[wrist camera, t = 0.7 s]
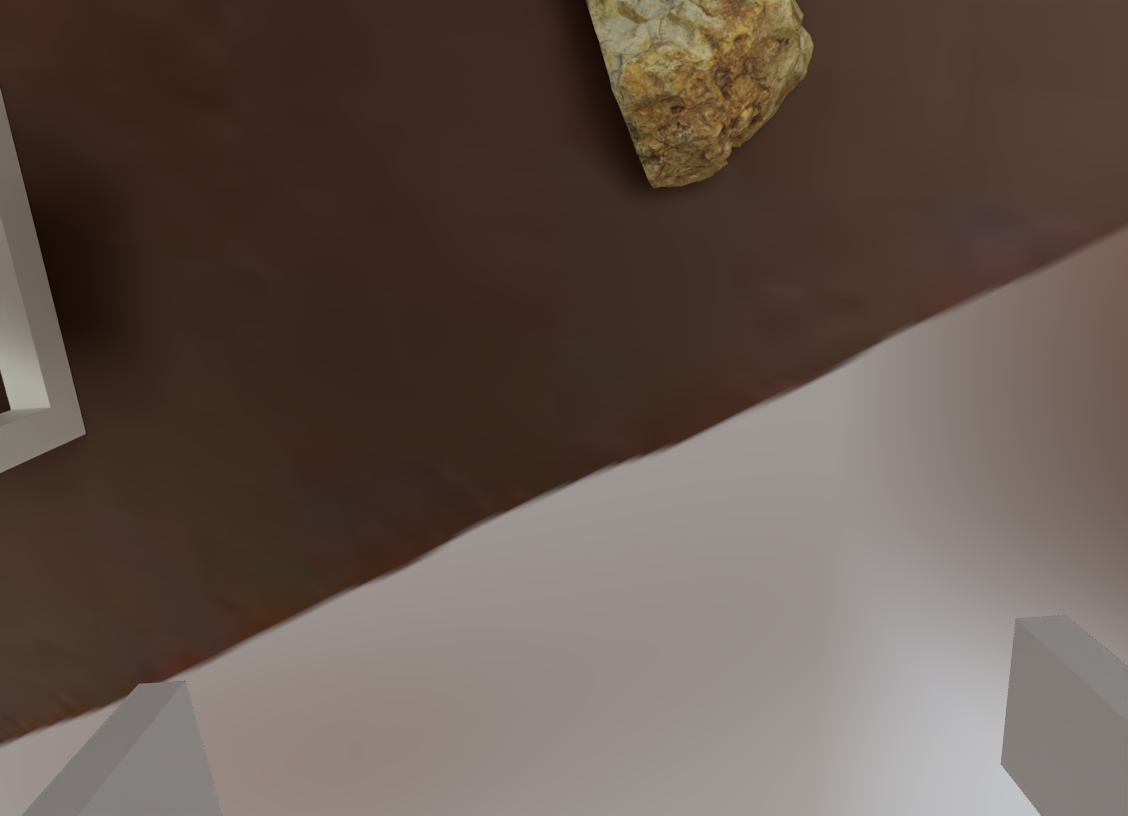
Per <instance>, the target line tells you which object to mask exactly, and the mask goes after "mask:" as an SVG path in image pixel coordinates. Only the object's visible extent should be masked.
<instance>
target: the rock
mask: <svg viewBox="0 0 1128 816" xmlns="http://www.w3.org/2000/svg"><path fill="white" fill-rule="evenodd" d="M586 3H587V5H588V9H589V12H590V15H591V19H592V22H593V25H594V28H595V31H596V34H597V37H598V40H599V43H600V47H601V51H602V54H603V57H604V61H605V64H606V68H607V71H608V75H609V78H610V83H611V87H612V91H613V93H614V96H615V98H616V100H617V102H618V104H619V107H620V110H621V112H622V115H623V117H624V120H625V123H626V125H627V127H628V129H629V132H630V135H631V138H632V141H633V143H634V146H635V149H636V152H637V155H638V156H639V159H640V162H641V163H642V165H643V168H644V171H645V173H646V176H647V178H648V181H649V182H650V185H651V186H652V187H653V188H658V187H675V186H683V185H686V184H689V183H691V182H698V181H701V180H703V179H706V178H708V177H711V176H713V175H714V173H715V172H716V171H718V170H720V169H721V168H722V167H723V166H725V165H726V164H728V163H727V159H726V158H727V157H728V156H729V155H730V153H731V152H732V148H731V147H732V146H734V147H740V146H741V145H742V143H743V142H746V141H747V140H748V139H750V138H751V137H752V136H753V135H754V134H755V133H756V132H757V131H758V130H759V129H760V128H761V127H762V126H763V125H764V124H765V123H766V122H767V121H768V120H769V119H770V118H772V117H773V116H774V115H775V113H776V112H777V110H778V108H779V107H780V105H781V103H782V101H783V100H784V98H785V97H786V96H787V95H788V94H789V93H790V92H791V91H792V90H793V89H794V88H795V86H796V85H797V83H798V82H800V81H801V80H802V79H804V78H805V75H806V72H807V68H808V64H809V61H810V59H811V56H812V52H813V46H814V45H813V43H812V40H811V37H810V35H809V34H808V33H807V31H806V30H805V29H804V28H803V27H802V26H801V22H802V18H803V14H802V12H801V10H800V8H799V6H798V5H797V3H796V2H795V0H586Z"/></svg>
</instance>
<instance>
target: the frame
mask: <svg viewBox="0 0 1128 816" xmlns="http://www.w3.org/2000/svg"><path fill="white" fill-rule="evenodd" d="M0 371H1V375H2V378H3V382H4V386H5V389H6V393H7V397H8V400H9V404H10V407H11V410H9V411H7V412H4V413H1V414H0V473H1V472H3V471H6V470H8V469H10V468H12V467H14V466H17V465H19V464H21V463H23V462H25V461H28V460H30V459H32V458H34V457H36V456H38V455H41V454H43V453H45V452H47V451H49V450H52V449H54V448H56V447H58V446H60V445H63V444H65V443H67V442H69V441H71V440H74V439H76V438H78V437H80V436H82V435H84V434H86V432H85V427H84V423H83V419H82V415H81V411H80V407H79V403H78V399H77V395H76V391H75V387H74V383H73V379H72V375H71V371H70V367H69V363H68V359H67V355H66V351H65V347H64V343H63V339H62V335H61V331H60V327H59V323H58V319H57V315H56V311H55V307H54V303H53V299H52V295H51V291H50V287H49V283H48V279H47V274H46V270H45V266H44V262H43V258H42V254H41V250H40V246H39V242H38V238H37V234H36V230H35V226H34V222H33V218H32V214H31V210H30V206H29V202H28V198H27V194H26V190H25V186H24V182H23V178H22V174H21V170H20V166H19V162H18V158H17V154H16V150H15V146H14V142H13V138H12V134H11V130H10V125H9V121H8V117H7V113H6V109H5V105H4V101H3V97H2V93H1V89H0Z"/></svg>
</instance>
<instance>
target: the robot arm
mask: <svg viewBox="0 0 1128 816" xmlns="http://www.w3.org/2000/svg"><path fill="white" fill-rule="evenodd" d="M1002 748H1003V749H1002V757H1001V765H1002V766H1003V767H1004V769H1005V770H1006V771H1007V773H1008V774H1009V775H1010V776H1011V777H1012V779H1013V780H1014V781H1015V783H1016V784H1017V785H1018V787H1019V788H1020V789H1021V790H1022V792H1023V793H1024V794H1025V795H1026V797H1027V798H1028V799H1029V800H1030V802H1031V803H1032V804H1033V806H1034V807H1035V808H1036V809H1037V811H1038V812H1039V813H1040V815H1041V816H1128V665H1126V664H1125V663H1124V662H1122V661H1121V660H1120V659H1119V658H1118V657H1117V656H1115V655H1114V654H1113V653H1112V652H1110V651H1109V650H1108V649H1107V648H1105V647H1104V646H1103V645H1102V644H1101V643H1099V642H1098V641H1097V640H1096V639H1094V638H1093V637H1092V636H1091V635H1090V634H1088V633H1087V632H1086V631H1085V630H1083V629H1082V628H1081V627H1080V626H1079V625H1077V624H1076V623H1075V622H1074V621H1072V620H1071V619H1070V618H1069V617H1067V616H1066V615H1057V616H1044V617H1031V618H1017V619H1016V620H1015V629H1014V639H1013V649H1012V659H1011V669H1010V678H1009V688H1008V698H1007V708H1006V718H1005V728H1004V737H1003V747H1002ZM22 816H222V812H221V808H220V805H219V801H218V797H217V794H216V790H215V787H214V783H213V779H212V775H211V772H210V768H209V764H208V761H207V757H206V753H205V750H204V746H203V742H202V739H201V735H200V732H199V728H198V725H197V721H196V717H195V713H194V710H193V706H192V702H191V699H190V695H189V691H188V688H187V684H186V681H175V682H162V683H148V684H138V685H137V687H136V688H135V689H134V690H133V691H132V692H131V693H130V694H129V696H128V697H127V698H126V699H125V700H124V701H123V702H122V703H121V705H120V706H119V707H118V708H117V709H116V710H115V711H114V712H113V714H112V715H111V716H110V717H109V718H108V719H107V720H106V721H105V723H104V724H103V725H102V726H101V727H100V728H99V729H98V730H97V732H96V733H95V734H94V735H93V736H92V737H91V738H90V739H89V740H88V742H87V743H86V744H85V745H84V746H83V747H82V748H81V749H80V751H79V752H78V753H77V754H76V755H75V756H74V757H73V759H71V761H70V762H69V763H68V764H67V765H66V766H65V768H63V770H62V771H61V772H60V773H59V774H58V775H57V776H56V777H55V779H54V780H53V781H52V782H51V783H50V784H49V785H48V786H47V788H46V789H45V790H44V791H43V792H42V793H41V794H40V795H39V796H38V798H37V799H36V800H35V801H34V802H33V803H32V804H31V805H30V807H29V808H28V809H27V810H26V811H25V812H24V813H23V814H22Z"/></svg>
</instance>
